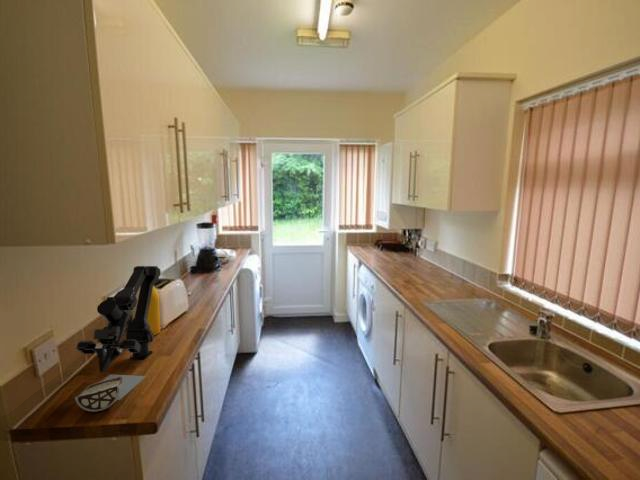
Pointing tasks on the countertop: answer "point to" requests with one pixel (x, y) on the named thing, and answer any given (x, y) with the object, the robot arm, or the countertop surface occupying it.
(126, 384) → the slate mat
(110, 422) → the countertop surface
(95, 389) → the food container
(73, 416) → the countertop surface
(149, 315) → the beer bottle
